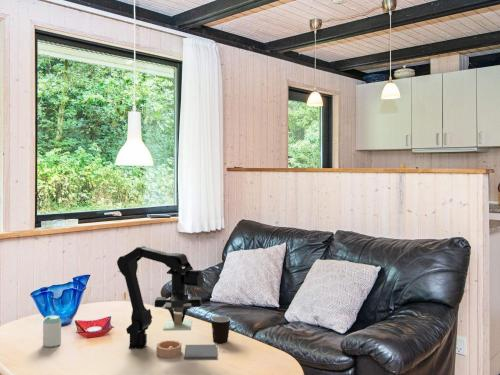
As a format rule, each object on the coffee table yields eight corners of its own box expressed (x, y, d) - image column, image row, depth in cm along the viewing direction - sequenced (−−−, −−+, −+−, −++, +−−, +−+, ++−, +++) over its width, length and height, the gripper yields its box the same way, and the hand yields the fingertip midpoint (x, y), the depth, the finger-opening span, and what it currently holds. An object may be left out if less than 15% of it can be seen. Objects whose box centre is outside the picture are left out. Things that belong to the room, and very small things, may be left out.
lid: (163, 330, 191) (163, 317, 191) (165, 321, 202) (166, 309, 202) (190, 330, 192) (191, 317, 192) (192, 321, 203) (192, 309, 203)
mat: (184, 359, 191) (184, 356, 191) (185, 347, 204) (185, 344, 204) (216, 358, 193) (216, 356, 193) (216, 346, 206) (216, 344, 206)
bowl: (155, 358, 192) (155, 349, 192) (157, 348, 202) (158, 340, 202) (180, 357, 193) (180, 349, 193) (181, 348, 203) (182, 340, 203)
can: (54, 348, 199) (54, 320, 199) (39, 347, 200) (39, 318, 200) (64, 342, 206) (64, 315, 205) (49, 341, 207) (49, 313, 207)
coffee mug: (227, 345, 207) (227, 322, 207) (208, 343, 209) (208, 321, 209) (233, 336, 219) (234, 315, 218) (215, 334, 220) (215, 313, 220)
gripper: (153, 290, 188) (152, 329, 188) (200, 289, 189) (200, 328, 190) (156, 283, 199) (156, 320, 199) (201, 283, 200) (201, 320, 201)
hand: (178, 322), depth 197 cm, fingers closed on lid, 3 cm apart
